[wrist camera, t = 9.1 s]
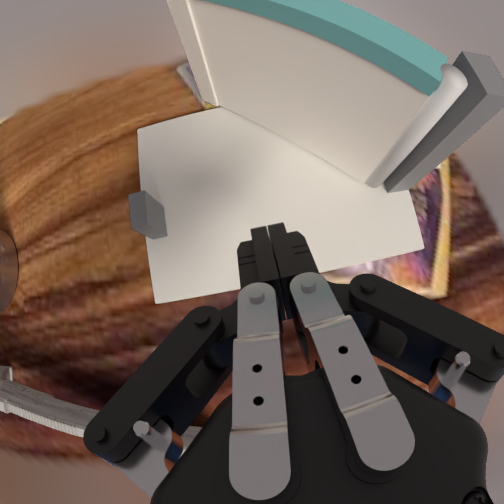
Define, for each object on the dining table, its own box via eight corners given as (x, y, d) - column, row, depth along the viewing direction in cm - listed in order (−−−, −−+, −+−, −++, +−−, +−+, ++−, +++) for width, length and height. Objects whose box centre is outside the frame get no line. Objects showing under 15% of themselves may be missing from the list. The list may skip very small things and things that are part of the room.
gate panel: (202, 99, 24) (158, -21, 11) (215, 84, 24) (182, -37, 11) (375, 194, 22) (463, 98, 9) (385, 174, 22) (470, 73, 9)
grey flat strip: (-32, 347, 23) (-75, 355, 15) (218, 409, 26) (220, 448, 18) (-31, 363, 23) (-72, 373, 15) (217, 427, 26) (219, 469, 18)
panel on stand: (160, 303, 23) (21, 307, 9) (141, 134, 26) (54, 23, 11) (419, 250, 23) (554, 198, 8) (366, 93, 25) (415, -33, 10)
